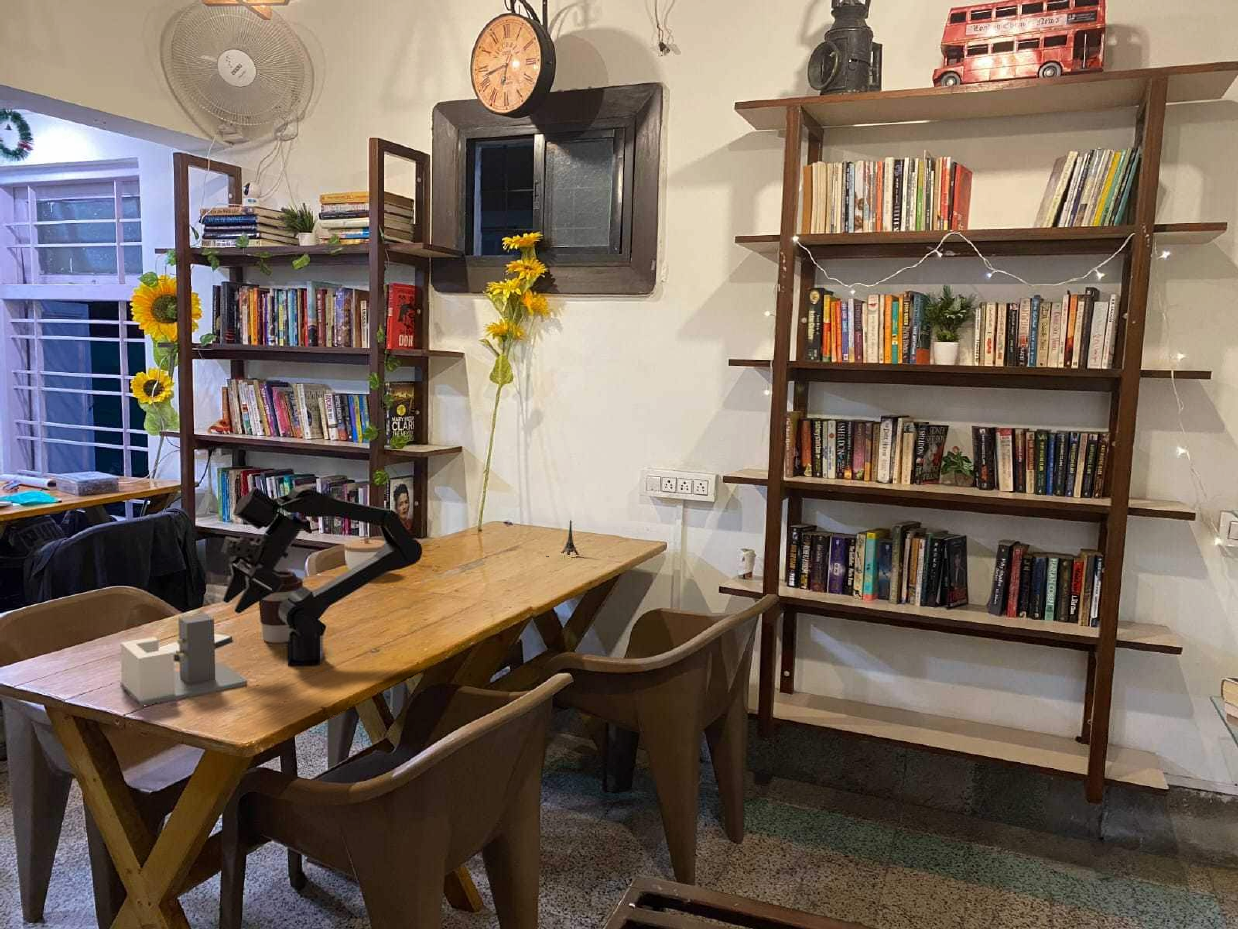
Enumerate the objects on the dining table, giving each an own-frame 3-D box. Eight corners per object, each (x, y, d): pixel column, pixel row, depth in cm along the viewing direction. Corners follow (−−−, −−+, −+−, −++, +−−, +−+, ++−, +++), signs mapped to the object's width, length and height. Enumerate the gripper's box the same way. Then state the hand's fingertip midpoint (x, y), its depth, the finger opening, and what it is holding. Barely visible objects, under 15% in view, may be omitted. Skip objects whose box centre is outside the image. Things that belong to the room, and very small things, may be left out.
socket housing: (221, 666, 194) (220, 624, 193) (247, 685, 184) (246, 641, 183) (120, 685, 181) (119, 641, 180) (141, 707, 171) (140, 660, 170)
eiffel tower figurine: (596, 555, 315) (597, 516, 313) (589, 561, 305) (590, 521, 303) (552, 552, 318) (553, 513, 316) (544, 558, 308) (545, 518, 306)
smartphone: (203, 638, 215) (148, 657, 199) (203, 631, 214) (148, 650, 199) (235, 643, 212) (182, 663, 197) (235, 636, 212) (182, 655, 197)
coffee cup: (311, 634, 217) (310, 570, 216) (288, 647, 208) (287, 580, 206) (272, 631, 219) (271, 567, 218) (247, 643, 210) (246, 577, 208)
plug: (206, 672, 188) (205, 613, 186) (215, 679, 184) (214, 619, 183) (174, 678, 184) (173, 618, 182) (183, 685, 180) (181, 624, 179)
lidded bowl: (392, 569, 284) (392, 533, 283) (383, 579, 272) (383, 541, 271) (350, 568, 284) (350, 532, 283) (339, 578, 271) (339, 540, 270)
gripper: (231, 513, 196) (184, 578, 192) (255, 527, 181) (206, 598, 177) (275, 540, 202) (232, 603, 198) (303, 556, 187) (256, 625, 183)
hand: (230, 607), depth 189 cm, fingers open, 9 cm apart
